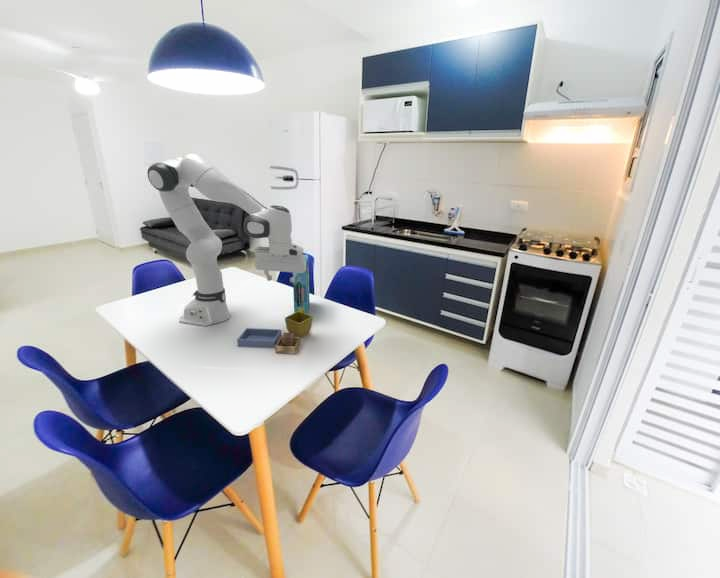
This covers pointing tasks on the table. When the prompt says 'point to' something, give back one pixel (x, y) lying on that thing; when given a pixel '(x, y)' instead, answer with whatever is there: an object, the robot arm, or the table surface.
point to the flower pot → (299, 324)
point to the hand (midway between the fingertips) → (280, 281)
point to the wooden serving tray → (287, 347)
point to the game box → (302, 290)
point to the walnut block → (288, 339)
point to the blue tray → (259, 338)
